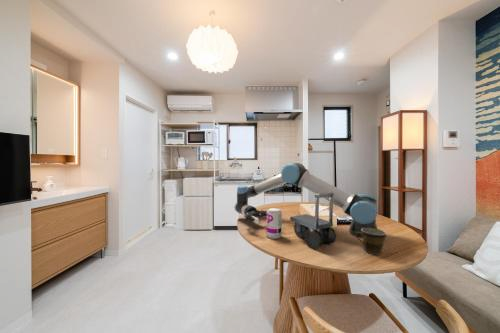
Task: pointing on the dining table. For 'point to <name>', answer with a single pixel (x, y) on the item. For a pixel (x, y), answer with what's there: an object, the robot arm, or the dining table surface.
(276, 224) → the supplement can
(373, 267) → the dining table surface
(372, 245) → the ceramic cup
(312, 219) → the trolley
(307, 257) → the dining table surface
